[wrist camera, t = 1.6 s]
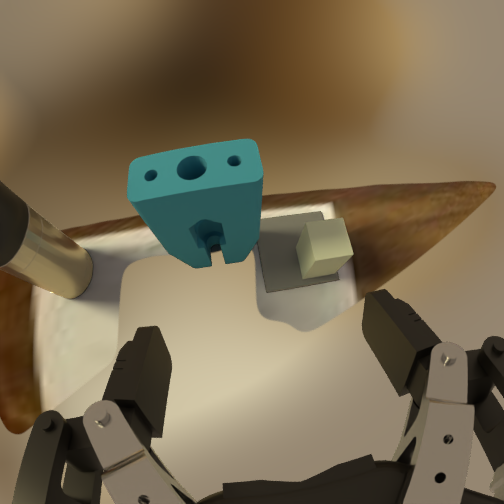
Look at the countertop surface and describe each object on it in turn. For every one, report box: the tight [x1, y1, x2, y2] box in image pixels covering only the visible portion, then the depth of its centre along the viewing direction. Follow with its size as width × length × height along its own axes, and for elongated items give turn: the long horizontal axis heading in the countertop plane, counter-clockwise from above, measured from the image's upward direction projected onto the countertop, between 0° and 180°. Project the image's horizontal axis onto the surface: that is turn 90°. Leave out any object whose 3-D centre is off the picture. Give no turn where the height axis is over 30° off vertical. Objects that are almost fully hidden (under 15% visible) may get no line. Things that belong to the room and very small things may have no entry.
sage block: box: [296, 218, 353, 279], centre depth 37 cm, size 5×5×8 cm
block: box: [127, 139, 263, 268], centre depth 32 cm, size 12×5×20 cm, turn 99°
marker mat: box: [257, 211, 339, 292], centre depth 42 cm, size 11×12×1 cm
